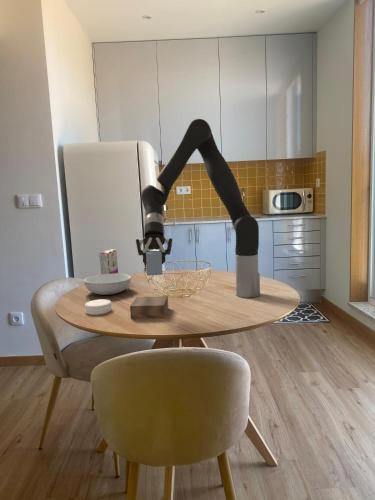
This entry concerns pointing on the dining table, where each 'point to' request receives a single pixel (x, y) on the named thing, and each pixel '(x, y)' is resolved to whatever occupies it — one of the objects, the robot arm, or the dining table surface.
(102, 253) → the candy bar box
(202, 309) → the dining table surface
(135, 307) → the walnut block
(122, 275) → the serving bowl
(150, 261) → the slate-blue block
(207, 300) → the dining table surface
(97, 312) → the white round disc
